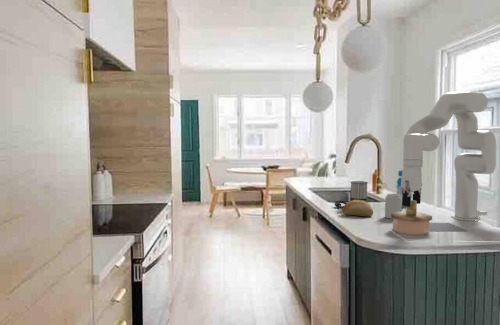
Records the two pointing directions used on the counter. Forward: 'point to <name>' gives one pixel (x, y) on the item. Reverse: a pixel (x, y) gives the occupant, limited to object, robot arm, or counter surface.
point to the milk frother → (356, 192)
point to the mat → (445, 227)
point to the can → (392, 204)
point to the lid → (411, 214)
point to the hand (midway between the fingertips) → (411, 204)
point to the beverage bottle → (400, 185)
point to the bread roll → (358, 208)
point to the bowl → (410, 226)
